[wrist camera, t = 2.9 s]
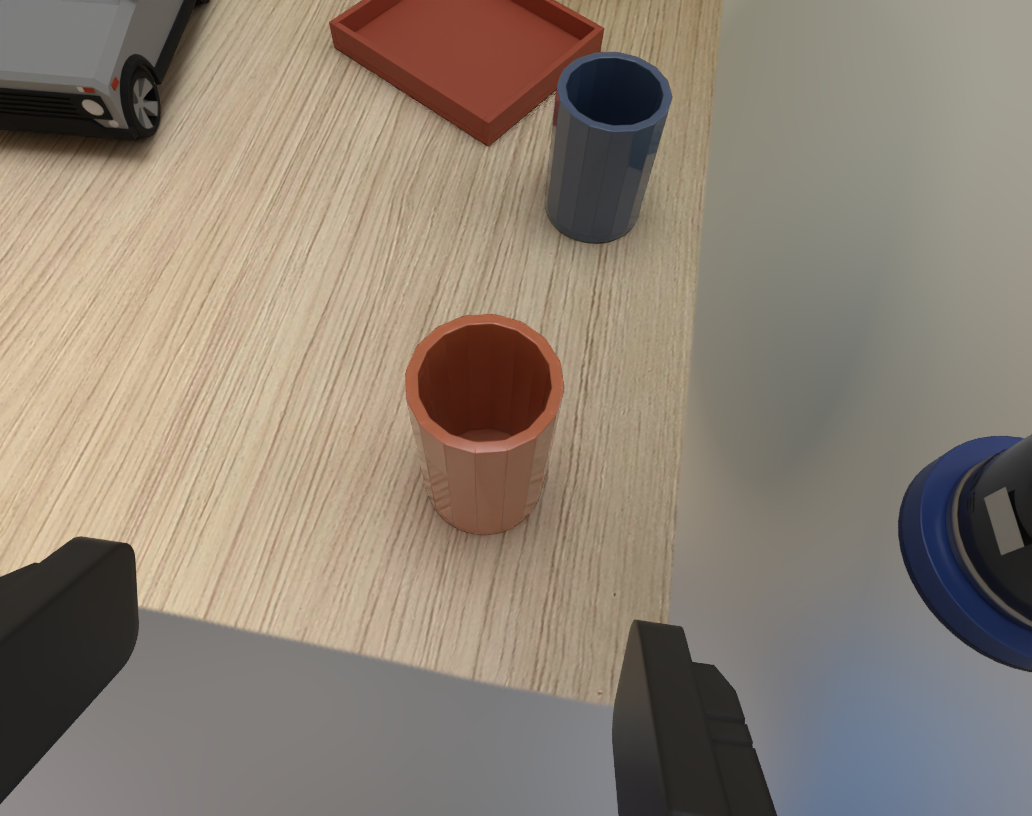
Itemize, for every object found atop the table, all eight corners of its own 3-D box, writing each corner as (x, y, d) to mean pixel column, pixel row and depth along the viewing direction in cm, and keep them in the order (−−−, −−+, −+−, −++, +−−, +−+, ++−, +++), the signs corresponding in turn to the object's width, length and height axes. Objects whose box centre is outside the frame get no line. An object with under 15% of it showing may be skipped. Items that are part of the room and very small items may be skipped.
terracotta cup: (565, 472, 38) (594, 372, 28) (491, 559, 36) (494, 485, 26) (478, 404, 39) (476, 288, 30) (401, 484, 37) (372, 387, 27)
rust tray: (600, 52, 53) (604, 27, 51) (488, 146, 48) (488, 123, 46) (451, -33, 57) (450, -59, 55) (333, 47, 52) (328, 21, 50)
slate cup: (657, 202, 47) (693, 87, 39) (601, 259, 44) (628, 149, 36) (582, 156, 48) (602, 36, 40) (525, 209, 46) (534, 92, 38)
